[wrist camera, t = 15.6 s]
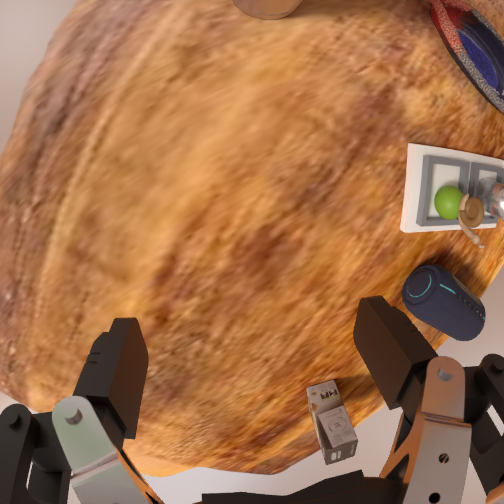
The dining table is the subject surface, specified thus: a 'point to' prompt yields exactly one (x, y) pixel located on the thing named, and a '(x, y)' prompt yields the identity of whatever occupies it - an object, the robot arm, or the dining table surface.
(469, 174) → the compartment tray
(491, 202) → the silver metal cylinder
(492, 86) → the dish
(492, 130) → the dining table surface
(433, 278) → the portable speaker
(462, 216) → the snail figurine
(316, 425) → the coffee box
